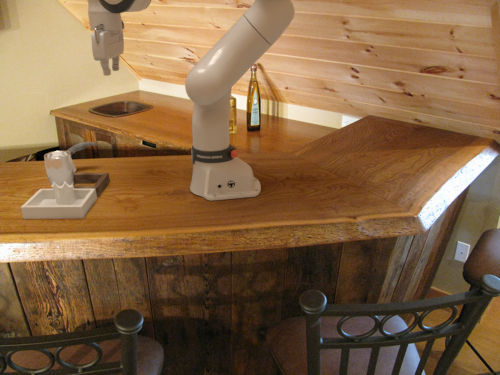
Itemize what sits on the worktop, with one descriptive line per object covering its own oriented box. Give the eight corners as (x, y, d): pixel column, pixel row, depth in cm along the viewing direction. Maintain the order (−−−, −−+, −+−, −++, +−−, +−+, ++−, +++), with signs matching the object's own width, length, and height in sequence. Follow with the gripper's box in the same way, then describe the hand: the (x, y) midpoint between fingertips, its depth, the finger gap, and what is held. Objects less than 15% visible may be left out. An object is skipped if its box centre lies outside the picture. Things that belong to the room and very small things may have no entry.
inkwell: (48, 169, 142) (42, 141, 138) (101, 162, 149) (98, 136, 145) (47, 178, 134) (41, 150, 130) (104, 171, 141) (100, 143, 137)
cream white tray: (97, 199, 120) (95, 188, 119) (83, 218, 109) (81, 206, 108) (42, 199, 120) (40, 188, 118) (23, 218, 109) (20, 207, 107)
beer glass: (71, 196, 120) (62, 148, 114) (84, 202, 117) (76, 153, 110) (48, 204, 115) (37, 155, 109) (61, 211, 112) (51, 160, 105)
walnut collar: (109, 181, 133) (108, 172, 131) (98, 196, 122) (97, 187, 121) (72, 181, 132) (71, 172, 131) (58, 197, 121) (56, 188, 120)
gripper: (106, 25, 108) (113, 78, 113) (125, 22, 126) (130, 68, 132) (82, 25, 107) (90, 78, 113) (104, 22, 126) (110, 68, 132)
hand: (111, 72), depth 123 cm, fingers open, 8 cm apart
